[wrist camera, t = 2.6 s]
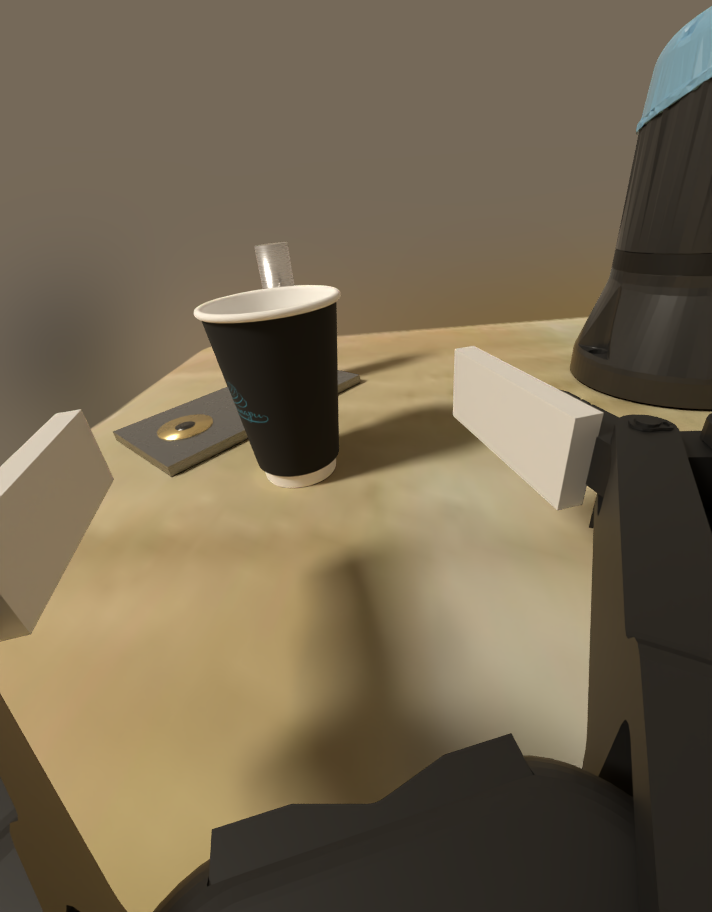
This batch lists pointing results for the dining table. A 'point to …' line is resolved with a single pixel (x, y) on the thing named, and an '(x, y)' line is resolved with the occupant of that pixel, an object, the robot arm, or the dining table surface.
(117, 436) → the plate
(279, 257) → the post
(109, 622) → the dining table surface
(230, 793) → the dining table surface
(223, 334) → the dixie cup
